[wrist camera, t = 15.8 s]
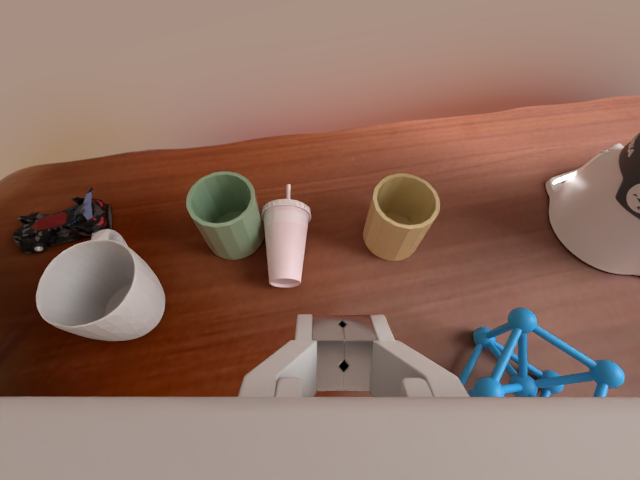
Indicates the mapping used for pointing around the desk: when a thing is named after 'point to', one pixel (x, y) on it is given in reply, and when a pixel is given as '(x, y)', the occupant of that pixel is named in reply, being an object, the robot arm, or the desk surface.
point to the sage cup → (226, 214)
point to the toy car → (63, 225)
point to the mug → (101, 290)
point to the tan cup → (399, 216)
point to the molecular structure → (521, 382)
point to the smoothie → (285, 239)
